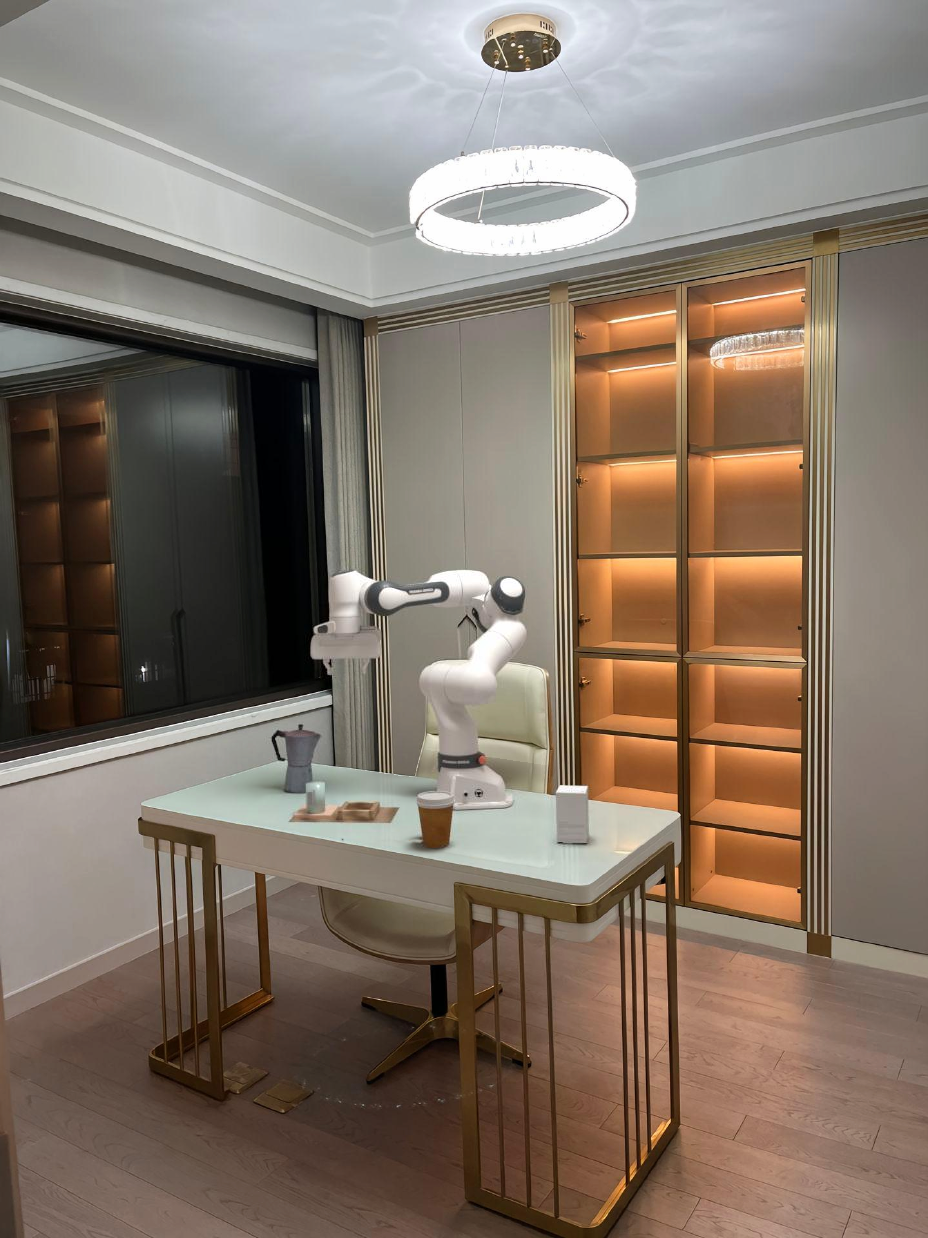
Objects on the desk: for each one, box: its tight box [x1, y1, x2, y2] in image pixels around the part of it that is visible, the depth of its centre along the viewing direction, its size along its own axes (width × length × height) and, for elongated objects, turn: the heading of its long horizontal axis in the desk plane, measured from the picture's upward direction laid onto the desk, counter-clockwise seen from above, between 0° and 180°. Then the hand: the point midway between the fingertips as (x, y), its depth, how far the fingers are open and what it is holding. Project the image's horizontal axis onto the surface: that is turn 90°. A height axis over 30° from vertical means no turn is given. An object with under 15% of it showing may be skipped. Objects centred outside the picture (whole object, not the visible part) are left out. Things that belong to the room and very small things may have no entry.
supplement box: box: [555, 784, 590, 844], centre depth 229 cm, size 7×7×13 cm
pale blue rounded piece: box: [305, 781, 326, 814], centre depth 250 cm, size 8×5×8 cm, turn 174°
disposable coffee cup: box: [415, 790, 455, 849], centre depth 227 cm, size 10×10×12 cm
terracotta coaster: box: [293, 804, 340, 818], centre depth 253 cm, size 10×10×1 cm
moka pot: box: [270, 723, 323, 794], centre depth 282 cm, size 10×15×20 cm, turn 89°
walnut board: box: [288, 801, 400, 824], centre depth 251 cm, size 27×15×4 cm, turn 85°
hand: (346, 674), depth 271 cm, fingers open, 8 cm apart
